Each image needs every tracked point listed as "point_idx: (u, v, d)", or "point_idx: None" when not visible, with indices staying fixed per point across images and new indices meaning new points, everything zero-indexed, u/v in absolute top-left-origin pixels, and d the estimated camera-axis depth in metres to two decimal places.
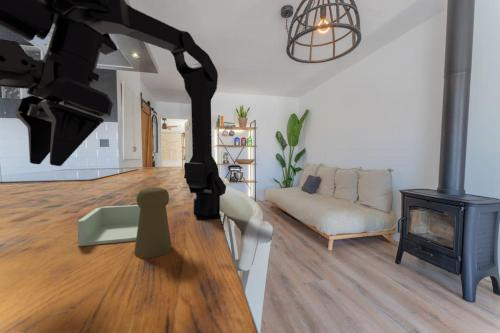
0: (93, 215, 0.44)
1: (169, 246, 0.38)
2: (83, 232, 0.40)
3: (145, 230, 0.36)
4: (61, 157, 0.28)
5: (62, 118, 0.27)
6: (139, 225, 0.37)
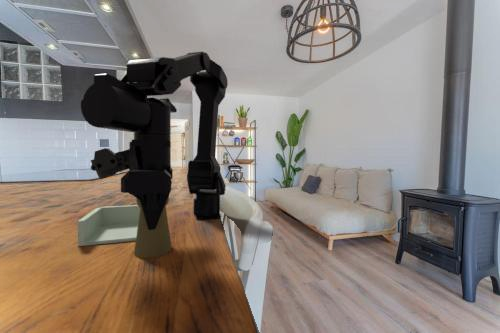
0: (93, 215, 0.44)
1: (169, 246, 0.38)
2: (83, 232, 0.40)
3: (145, 230, 0.36)
4: (153, 223, 0.36)
5: (143, 197, 0.34)
6: (139, 225, 0.37)
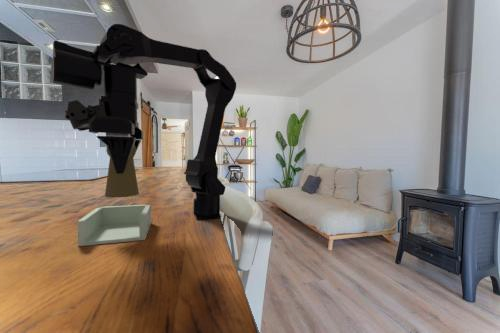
0: (93, 215, 0.44)
1: (136, 191, 0.45)
2: (83, 232, 0.40)
3: (114, 174, 0.42)
4: (121, 167, 0.42)
5: (111, 143, 0.40)
6: (109, 171, 0.43)
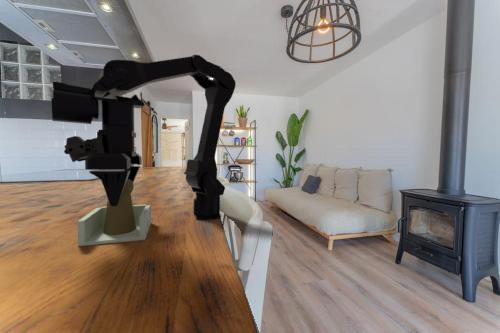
0: (93, 215, 0.44)
1: (133, 226, 0.46)
2: (83, 232, 0.40)
3: (111, 212, 0.44)
4: (115, 200, 0.42)
5: (104, 177, 0.40)
6: (107, 208, 0.45)
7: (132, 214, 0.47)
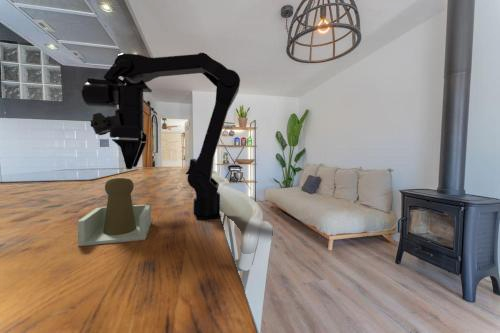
0: (93, 215, 0.44)
1: (133, 226, 0.46)
2: (83, 232, 0.40)
3: (111, 212, 0.44)
4: (130, 164, 0.53)
5: (122, 145, 0.51)
6: (107, 208, 0.45)
7: (132, 214, 0.47)
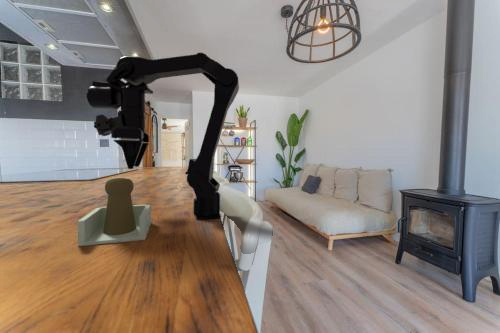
0: (93, 215, 0.44)
1: (133, 226, 0.46)
2: (83, 232, 0.40)
3: (111, 212, 0.44)
4: (131, 164, 0.55)
5: (124, 145, 0.53)
6: (107, 208, 0.45)
7: (132, 214, 0.47)
